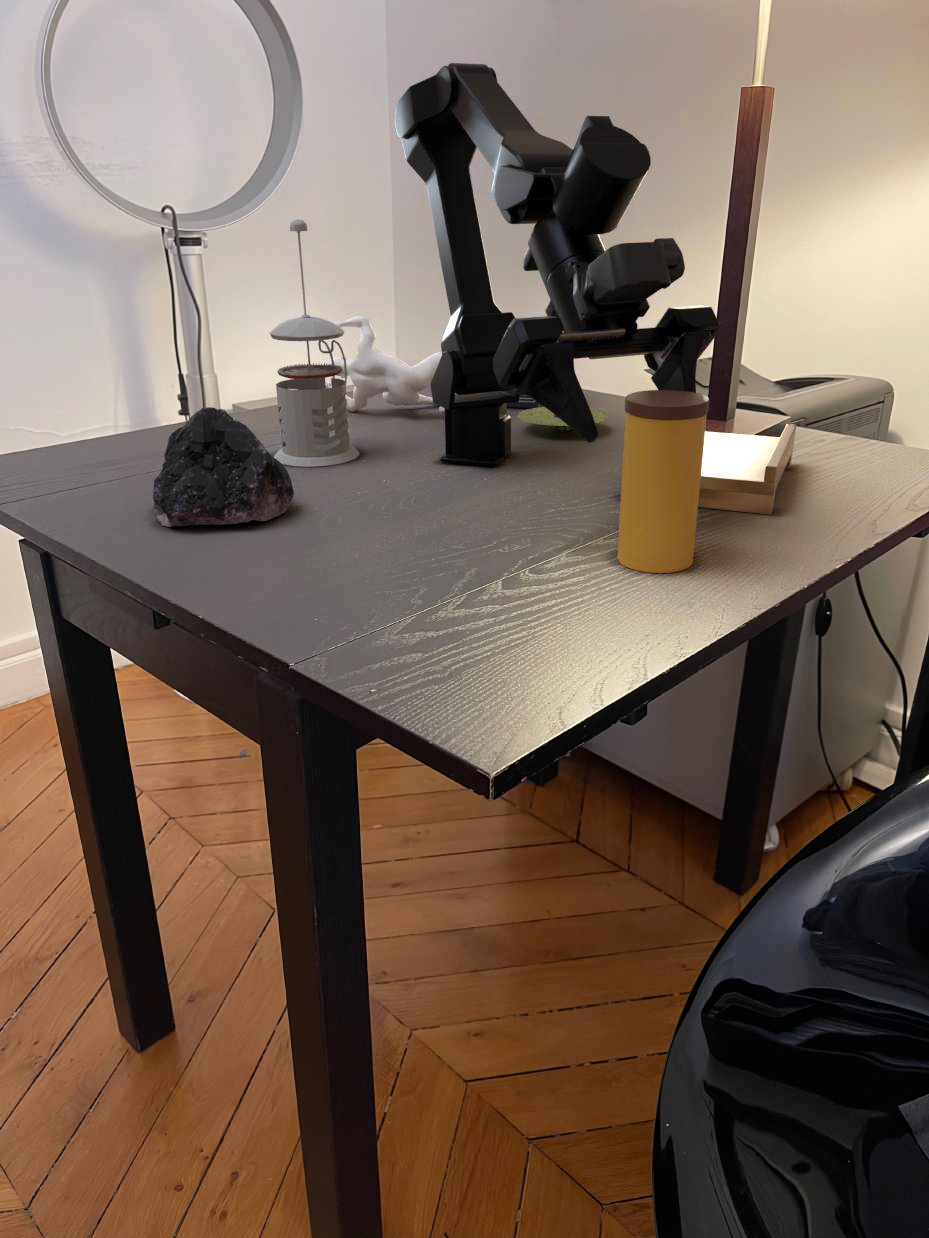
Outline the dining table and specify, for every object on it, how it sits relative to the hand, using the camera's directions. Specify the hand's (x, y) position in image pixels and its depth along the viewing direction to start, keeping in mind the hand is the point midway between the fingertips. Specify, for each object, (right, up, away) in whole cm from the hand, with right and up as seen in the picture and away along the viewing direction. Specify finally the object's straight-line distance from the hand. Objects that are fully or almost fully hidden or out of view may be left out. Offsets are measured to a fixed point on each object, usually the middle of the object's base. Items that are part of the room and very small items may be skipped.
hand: (644, 433), depth 73 cm
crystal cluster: (-37, -4, +15) cm, 40 cm away
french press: (-31, +4, +35) cm, 46 cm away
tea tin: (+1, -10, +2) cm, 10 cm away
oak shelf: (+11, -1, +22) cm, 25 cm away
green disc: (-2, +9, +43) cm, 44 cm away
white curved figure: (-24, +13, +53) cm, 60 cm away
